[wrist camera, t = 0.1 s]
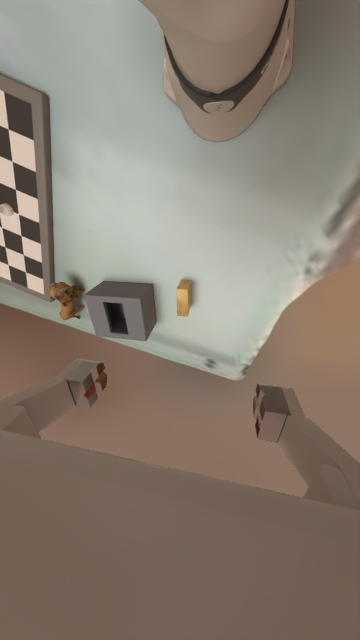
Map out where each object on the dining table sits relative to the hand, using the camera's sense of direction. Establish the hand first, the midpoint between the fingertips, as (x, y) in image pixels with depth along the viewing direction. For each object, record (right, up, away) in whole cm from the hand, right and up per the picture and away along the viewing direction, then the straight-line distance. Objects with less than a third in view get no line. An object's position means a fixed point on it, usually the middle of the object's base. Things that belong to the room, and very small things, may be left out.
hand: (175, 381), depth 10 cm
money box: (-14, +8, +45) cm, 48 cm away
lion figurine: (-30, +11, +48) cm, 57 cm away
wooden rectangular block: (+2, +10, +40) cm, 41 cm away
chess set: (-51, +36, +37) cm, 73 cm away
